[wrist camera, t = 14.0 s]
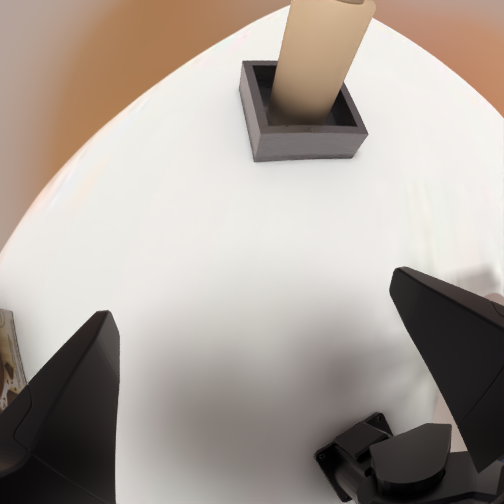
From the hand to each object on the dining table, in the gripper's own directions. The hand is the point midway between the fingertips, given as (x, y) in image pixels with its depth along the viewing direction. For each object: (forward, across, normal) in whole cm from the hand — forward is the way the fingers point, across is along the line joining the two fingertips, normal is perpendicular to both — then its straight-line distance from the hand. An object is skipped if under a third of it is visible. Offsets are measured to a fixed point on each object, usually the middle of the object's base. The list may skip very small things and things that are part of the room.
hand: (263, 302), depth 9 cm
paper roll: (+22, -8, -4) cm, 24 cm away
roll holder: (+22, -8, -3) cm, 24 cm away
